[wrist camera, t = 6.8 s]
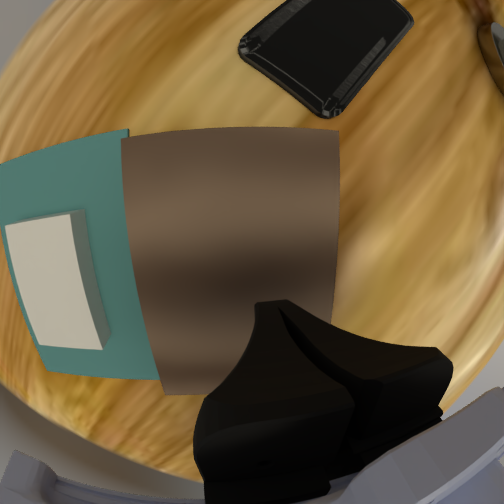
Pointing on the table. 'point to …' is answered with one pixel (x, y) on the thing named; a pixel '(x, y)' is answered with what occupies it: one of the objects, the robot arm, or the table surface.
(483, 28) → the lamp
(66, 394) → the table surface
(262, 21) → the phone
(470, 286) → the table surface
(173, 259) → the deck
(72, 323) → the white rectangular block
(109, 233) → the mat
